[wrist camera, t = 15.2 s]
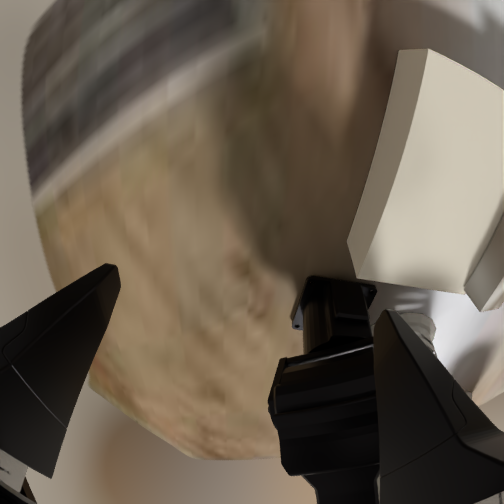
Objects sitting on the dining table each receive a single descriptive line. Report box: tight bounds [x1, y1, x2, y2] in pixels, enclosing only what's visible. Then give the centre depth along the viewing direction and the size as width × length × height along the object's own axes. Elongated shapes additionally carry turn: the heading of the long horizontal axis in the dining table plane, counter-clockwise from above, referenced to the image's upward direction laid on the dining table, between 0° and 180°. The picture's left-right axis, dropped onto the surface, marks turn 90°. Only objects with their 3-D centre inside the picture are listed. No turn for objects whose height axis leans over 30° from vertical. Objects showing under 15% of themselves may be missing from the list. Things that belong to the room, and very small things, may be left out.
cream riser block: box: [347, 49, 504, 295], centre depth 17 cm, size 15×10×4 cm, turn 172°
